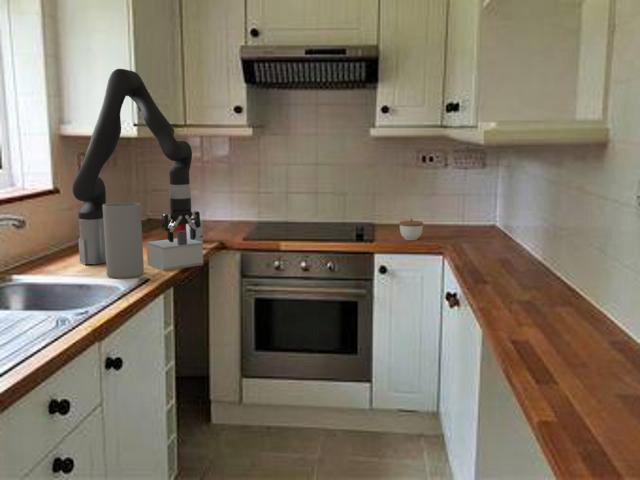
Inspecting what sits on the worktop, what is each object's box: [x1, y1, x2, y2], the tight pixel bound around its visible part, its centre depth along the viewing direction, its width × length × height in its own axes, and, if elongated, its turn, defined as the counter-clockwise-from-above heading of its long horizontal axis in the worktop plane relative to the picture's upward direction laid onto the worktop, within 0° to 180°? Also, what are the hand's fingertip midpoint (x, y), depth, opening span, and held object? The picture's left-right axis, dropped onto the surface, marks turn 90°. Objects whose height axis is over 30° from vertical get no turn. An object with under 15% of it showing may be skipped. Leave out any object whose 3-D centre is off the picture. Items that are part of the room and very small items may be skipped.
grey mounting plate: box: [145, 230, 204, 249], centre depth 241 cm, size 16×14×6 cm
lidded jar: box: [398, 218, 424, 241], centre depth 295 cm, size 11×11×9 cm
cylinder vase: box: [103, 201, 145, 279], centre depth 225 cm, size 12×12×25 cm
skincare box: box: [186, 220, 204, 243], centre depth 273 cm, size 6×4×12 cm
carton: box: [145, 243, 204, 272], centre depth 242 cm, size 16×14×8 cm
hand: (182, 240), depth 236 cm, fingers open, 8 cm apart
